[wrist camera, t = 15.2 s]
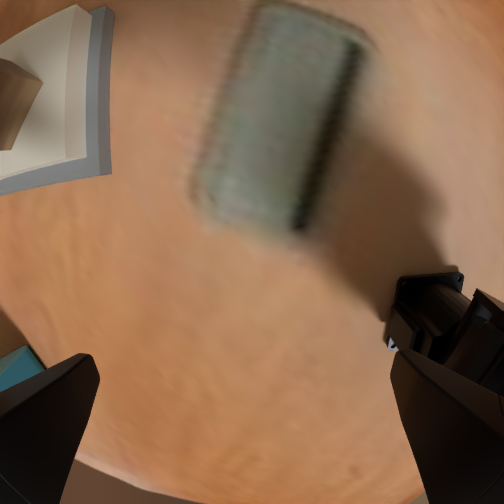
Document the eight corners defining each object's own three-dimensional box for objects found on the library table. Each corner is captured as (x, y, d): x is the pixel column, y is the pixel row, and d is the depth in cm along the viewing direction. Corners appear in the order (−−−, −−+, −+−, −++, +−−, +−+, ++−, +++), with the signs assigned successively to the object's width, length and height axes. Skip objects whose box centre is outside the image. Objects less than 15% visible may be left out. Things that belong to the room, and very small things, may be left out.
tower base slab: (119, 17, 16) (105, 5, 13) (116, 173, 20) (100, 175, 17) (7, 65, 16) (-10, 61, 14) (5, 194, 20) (-13, 199, 18)
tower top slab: (92, 16, 14) (75, 3, 11) (86, 157, 17) (65, 158, 14) (-5, 64, 14) (-23, 60, 12) (-9, 182, 17) (-29, 186, 15)
